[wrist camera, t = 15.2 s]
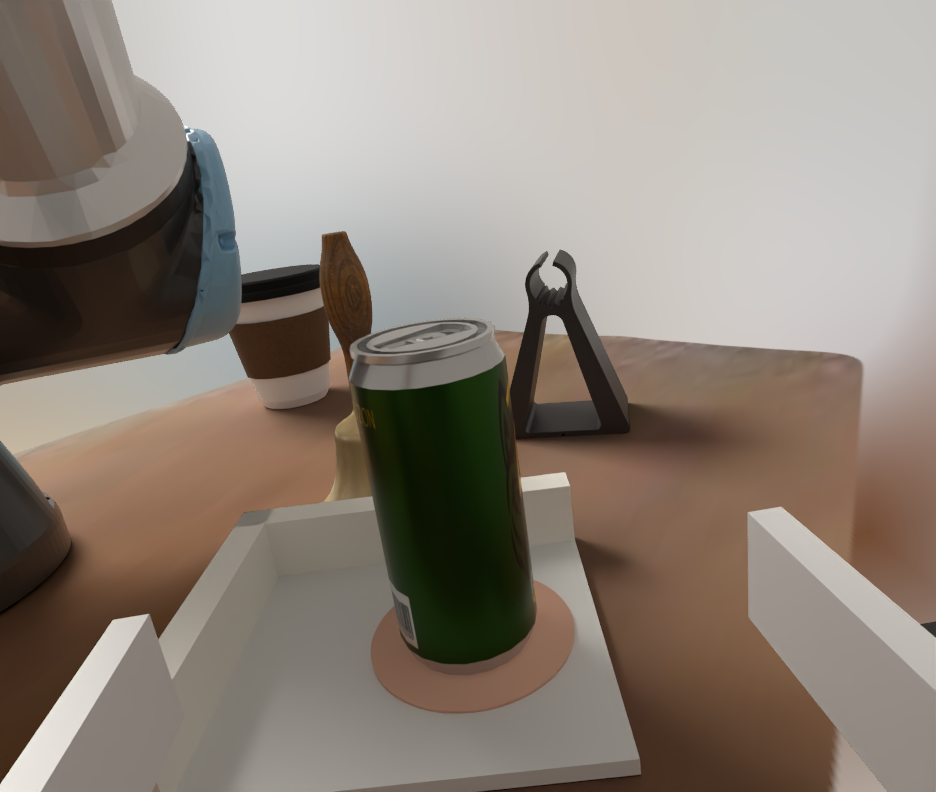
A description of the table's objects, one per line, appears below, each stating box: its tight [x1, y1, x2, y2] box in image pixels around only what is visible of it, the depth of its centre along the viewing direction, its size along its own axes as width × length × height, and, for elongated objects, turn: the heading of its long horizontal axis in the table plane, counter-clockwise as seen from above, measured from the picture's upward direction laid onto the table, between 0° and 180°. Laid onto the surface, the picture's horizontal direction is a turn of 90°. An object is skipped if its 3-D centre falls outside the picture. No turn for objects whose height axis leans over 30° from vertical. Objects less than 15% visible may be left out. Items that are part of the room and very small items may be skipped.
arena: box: [152, 472, 641, 792], centre depth 26 cm, size 16×14×4 cm
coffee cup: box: [229, 265, 330, 409], centre depth 62 cm, size 11×11×12 cm
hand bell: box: [319, 231, 372, 502], centre depth 37 cm, size 8×8×16 cm
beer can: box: [349, 318, 537, 675], centre depth 24 cm, size 5×5×12 cm
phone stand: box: [510, 250, 630, 439], centre depth 46 cm, size 9×6×12 cm, turn 78°
